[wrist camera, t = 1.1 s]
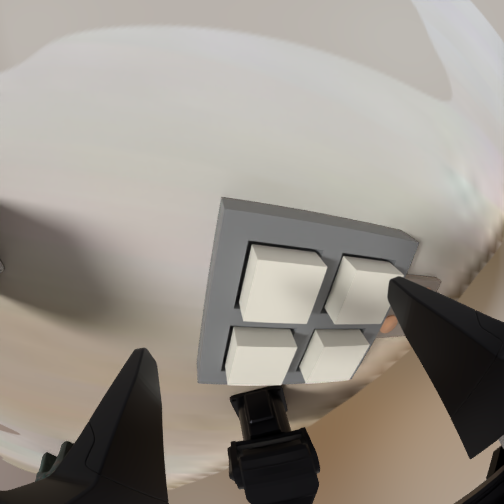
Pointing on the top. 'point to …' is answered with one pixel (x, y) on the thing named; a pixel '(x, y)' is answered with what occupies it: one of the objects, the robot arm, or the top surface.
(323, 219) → the control panel
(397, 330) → the pattern card
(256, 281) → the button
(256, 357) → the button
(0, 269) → the coffee box
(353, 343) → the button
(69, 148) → the top surface
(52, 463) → the ceramic cat
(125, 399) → the robot arm
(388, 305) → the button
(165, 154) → the top surface
